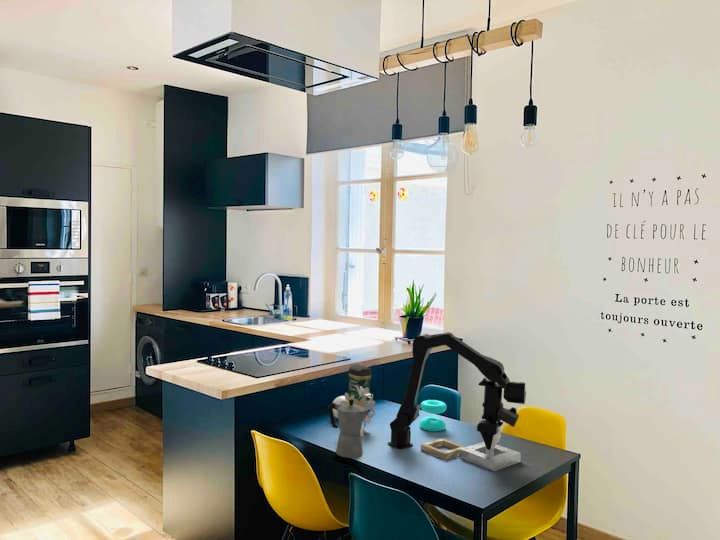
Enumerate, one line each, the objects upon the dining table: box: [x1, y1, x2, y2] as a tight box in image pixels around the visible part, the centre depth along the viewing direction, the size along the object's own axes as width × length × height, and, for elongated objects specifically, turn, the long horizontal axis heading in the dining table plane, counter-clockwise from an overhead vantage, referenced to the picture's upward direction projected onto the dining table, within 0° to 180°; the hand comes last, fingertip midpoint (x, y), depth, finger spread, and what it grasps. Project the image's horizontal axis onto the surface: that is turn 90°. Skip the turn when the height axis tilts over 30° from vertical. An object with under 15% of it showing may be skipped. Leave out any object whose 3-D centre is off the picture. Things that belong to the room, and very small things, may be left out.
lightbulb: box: [480, 427, 502, 457], centre depth 194 cm, size 6×6×11 cm
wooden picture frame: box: [420, 438, 466, 461], centre depth 201 cm, size 11×11×2 cm
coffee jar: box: [347, 364, 372, 405], centre depth 248 cm, size 10×8×19 cm
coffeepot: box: [327, 399, 370, 459], centre depth 196 cm, size 15×9×18 cm, turn 62°
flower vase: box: [332, 385, 376, 437], centre depth 225 cm, size 13×18×25 cm
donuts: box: [419, 399, 447, 432], centre depth 226 cm, size 10×10×10 cm
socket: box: [459, 441, 522, 472], centre depth 194 cm, size 14×14×3 cm
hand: (490, 446), depth 194 cm, fingers closed on lightbulb, 6 cm apart
